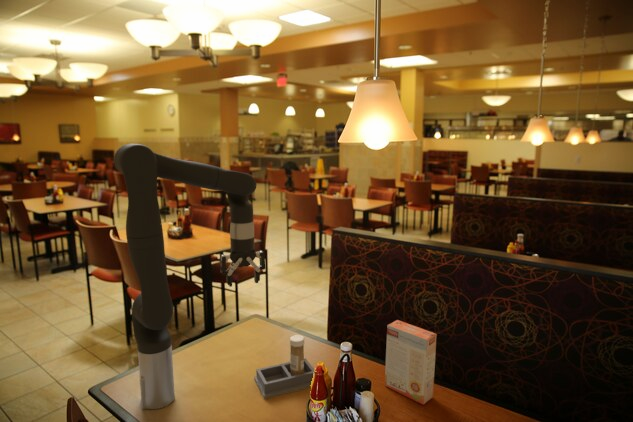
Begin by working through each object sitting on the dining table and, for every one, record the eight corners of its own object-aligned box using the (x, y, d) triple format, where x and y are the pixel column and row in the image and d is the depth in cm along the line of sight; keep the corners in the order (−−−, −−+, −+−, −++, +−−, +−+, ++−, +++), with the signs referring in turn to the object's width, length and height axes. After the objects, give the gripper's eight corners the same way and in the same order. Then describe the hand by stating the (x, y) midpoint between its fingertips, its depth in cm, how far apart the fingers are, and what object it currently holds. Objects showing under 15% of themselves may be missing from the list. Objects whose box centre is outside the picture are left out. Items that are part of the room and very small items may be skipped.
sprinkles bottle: (306, 377, 135) (307, 339, 133) (294, 382, 133) (294, 342, 130) (299, 371, 139) (299, 333, 136) (287, 375, 136) (287, 336, 134)
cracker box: (433, 397, 127) (437, 333, 123) (423, 406, 123) (427, 340, 119) (394, 378, 137) (397, 318, 133) (383, 386, 133) (386, 324, 129)
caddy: (264, 398, 126) (264, 386, 125) (254, 379, 136) (254, 368, 135) (319, 384, 133) (319, 373, 132) (305, 367, 143) (305, 356, 142)
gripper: (222, 240, 127) (223, 291, 130) (267, 236, 132) (268, 285, 135) (217, 234, 133) (219, 283, 136) (260, 231, 139) (261, 277, 142)
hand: (243, 284), depth 136 cm, fingers open, 8 cm apart
